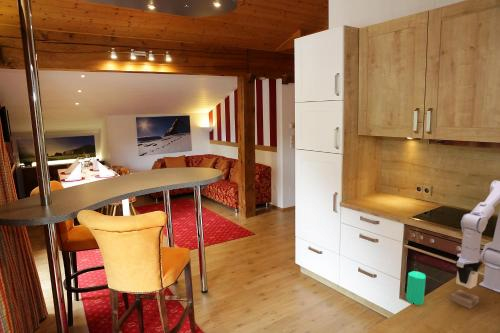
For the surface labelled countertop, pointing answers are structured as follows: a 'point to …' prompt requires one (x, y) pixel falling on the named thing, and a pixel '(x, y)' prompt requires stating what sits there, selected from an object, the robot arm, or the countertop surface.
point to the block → (469, 280)
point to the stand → (464, 299)
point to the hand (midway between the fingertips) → (466, 280)
